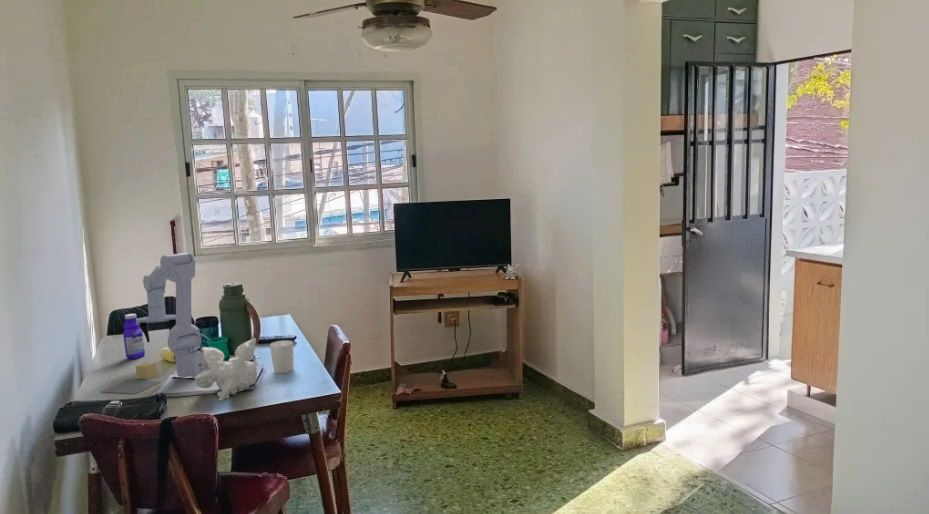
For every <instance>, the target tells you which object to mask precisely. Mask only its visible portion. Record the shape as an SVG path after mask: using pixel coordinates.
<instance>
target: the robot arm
mask: <svg viewBox="0 0 929 514" xmlns="http://www.w3.org/2000/svg"><path fill="white" fill-rule="evenodd" d="M159 261H160V262H159V264H160V265H156V266H155V268H154V269H153V271H151V273H150V274H149V275H147V274H146V275H144V276H143V279H142V284H143V287H144V290H145V291H146V299H147V310H148V316H143V317H139V318H138V317H137V319H136V325H139V324H140V326H139V327H140V328H141V330H142V333H143V334H144V336H145V340H146V342H147V343H150V340H151V339H150V335H149V324H154V323H162V322H163V323H164V322H168V330H169V331H168V332H169V333H168V336H167V337H168V338H167V346H168V350H170V352H172V353H174V359H175V360H174V361H175V369H176V374H177V375H178V376H181V377H187V376H188V377H189V376H191V377H193V378H195V377H196V376H197V375H198V374H201V373H202V372H209V371H208V370H207V364H206V362H205V359H204V357H203V353H204V352H203V351H200V350H199V347H200V346H201V343H202V338H201V333H200V331H201V330H200V329H199V328H198V326H196V325H194V324H192V279H194V277H196V260H195V257H194V255H193V253H192V252H190V251H187V252H181V253H174V254H162V256H161V257H160V260H159ZM167 280H169V281H170V282H174V283H175V314H166V305H165V293H166V285H167Z"/></svg>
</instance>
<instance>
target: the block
mask: <svg viewBox="0 0 929 514" xmlns="http://www.w3.org/2000/svg"><path fill="white" fill-rule="evenodd" d="M135 373H136V379H142V380H143V379H147V380H148V379H150V378H152V377H156V376H158V375H157V366H156V362H143V363H141V364H137V365H136V366H135Z"/></svg>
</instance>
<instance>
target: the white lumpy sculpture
mask: <svg viewBox="0 0 929 514" xmlns="http://www.w3.org/2000/svg"><path fill="white" fill-rule="evenodd" d="M256 343H257V339H256V337H254V338H251V339H250V340H247V341H245V342H243V343H242V344H240V345H239V346H237V347H236V349H235V351H234V356H235V357H231V358H229V359H228V360H224V359H225V354H224V352H223V351H222V350H220V349H218V348H216V347H211V346H210V347H206V346H202V347H201V352H203V357H204V359H205V363H206V366H207V367H208V369H209V370H210V371H208V372H202V373H201V374H198V375H197V376H196V377H195V378H194V381H195V384H196V386H197V387H199V388H201V389H210V388H211V387H212V386H213V384H214V383H216V386H217V387H218V389H219V390H220V391H217V394H216V395H217V398H218V400H217V401H220V402H223V401H224V400H225V399H226V400H228V399H229V398H230V395H232V396H234V395H236V394H237V392H241V391H242V392H243V391H244V390H247V389H248V388H249V386H250V385H252V386H254V385H256V383H257V378H258V377H257V376H258V372H257V371H258V370H257V369H258V368H257V365H256V362H254V361H250V360H251V359H253V356H254V353H255V350H256V346H257V345H256ZM253 384H254V385H253ZM250 387H251V386H250ZM221 390H222V391H221Z"/></svg>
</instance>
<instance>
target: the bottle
mask: <svg viewBox="0 0 929 514" xmlns="http://www.w3.org/2000/svg"><path fill="white" fill-rule="evenodd" d="M137 318H138V317H137V313H129V314H125V315H124V325H123V328H124V330H123V334H122V335H123V336H122V337H123V342H124V343H123V344H124V349H125V350H124V351H125V352H124V353H125V358H126V359H129V360H137V359H140V358H142V357H143V356H145V354H146V350H145V342H144V335H143V334H144V333H143V331H142V330H141V328H140V324H139V325H136V319H137Z"/></svg>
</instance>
